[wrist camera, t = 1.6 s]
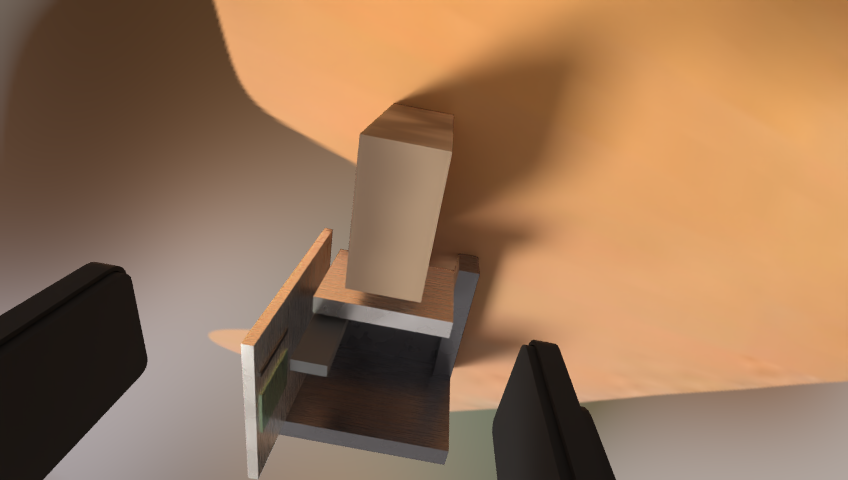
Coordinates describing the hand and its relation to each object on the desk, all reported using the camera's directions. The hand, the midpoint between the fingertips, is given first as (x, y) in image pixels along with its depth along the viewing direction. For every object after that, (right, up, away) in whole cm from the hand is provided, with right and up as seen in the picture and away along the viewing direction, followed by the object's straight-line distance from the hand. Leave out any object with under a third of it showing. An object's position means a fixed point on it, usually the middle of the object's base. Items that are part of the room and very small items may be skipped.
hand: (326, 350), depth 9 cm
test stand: (0, -3, +23) cm, 23 cm away
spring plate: (0, 0, +19) cm, 19 cm away
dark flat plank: (-3, 0, +20) cm, 20 cm away
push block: (+2, +8, +18) cm, 19 cm away
